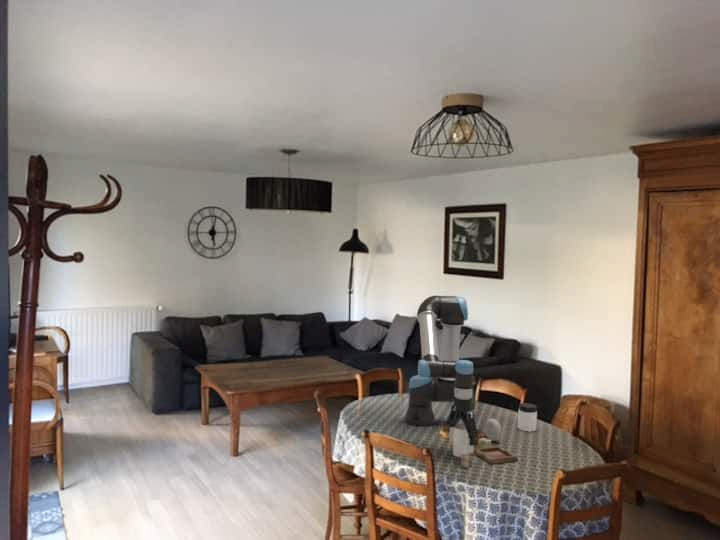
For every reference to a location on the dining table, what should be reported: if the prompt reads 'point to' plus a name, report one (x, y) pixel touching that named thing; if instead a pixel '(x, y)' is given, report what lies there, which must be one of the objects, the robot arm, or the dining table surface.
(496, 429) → the white round disc
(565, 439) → the dining table surface
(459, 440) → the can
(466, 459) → the cork
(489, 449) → the walnut tray
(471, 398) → the coffee jar
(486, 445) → the beech block
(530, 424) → the jar
